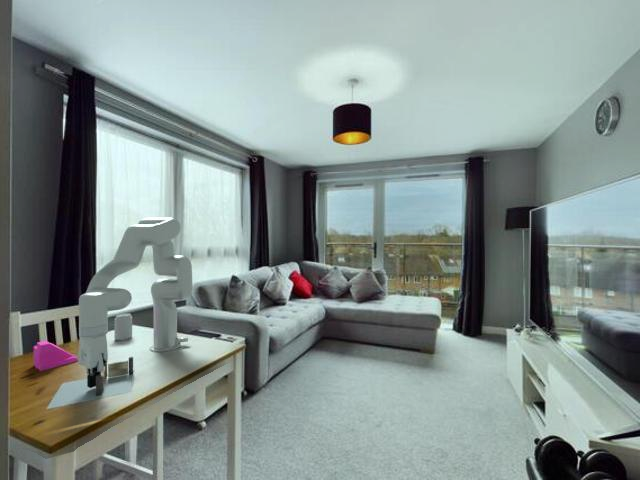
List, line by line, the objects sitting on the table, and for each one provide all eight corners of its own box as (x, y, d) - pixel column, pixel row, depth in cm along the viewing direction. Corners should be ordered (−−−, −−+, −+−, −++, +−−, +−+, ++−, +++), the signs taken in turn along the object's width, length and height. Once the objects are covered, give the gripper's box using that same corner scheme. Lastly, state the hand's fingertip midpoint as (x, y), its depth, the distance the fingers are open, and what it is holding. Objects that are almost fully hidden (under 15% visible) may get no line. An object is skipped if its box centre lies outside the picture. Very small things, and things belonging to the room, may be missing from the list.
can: (110, 340, 148) (110, 316, 148) (122, 335, 155) (122, 312, 155) (123, 341, 146) (124, 316, 146) (135, 336, 154) (135, 313, 154)
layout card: (134, 371, 113) (134, 370, 113) (131, 393, 97) (131, 391, 97) (62, 384, 103) (62, 382, 103) (46, 411, 87) (46, 409, 87)
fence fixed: (133, 372, 111) (133, 355, 111) (130, 389, 99) (130, 369, 99) (101, 378, 106) (101, 360, 106) (95, 396, 94) (95, 376, 94)
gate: (102, 379, 105) (102, 365, 105) (105, 379, 105) (105, 365, 105) (100, 392, 96) (100, 377, 96) (103, 391, 97) (103, 376, 97)
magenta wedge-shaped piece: (40, 372, 112) (40, 345, 112) (33, 365, 118) (33, 339, 118) (80, 362, 122) (80, 336, 122) (71, 356, 128) (71, 332, 128)
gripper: (70, 329, 100) (70, 384, 100) (90, 337, 92) (91, 397, 92) (96, 324, 106) (96, 375, 106) (117, 330, 98) (118, 386, 98)
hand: (94, 385), depth 99 cm, fingers closed
